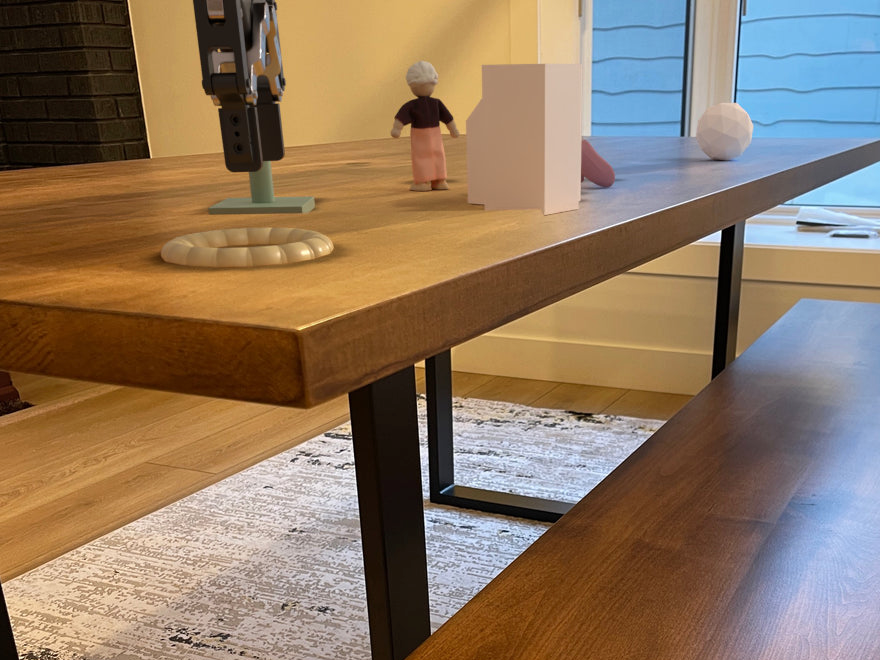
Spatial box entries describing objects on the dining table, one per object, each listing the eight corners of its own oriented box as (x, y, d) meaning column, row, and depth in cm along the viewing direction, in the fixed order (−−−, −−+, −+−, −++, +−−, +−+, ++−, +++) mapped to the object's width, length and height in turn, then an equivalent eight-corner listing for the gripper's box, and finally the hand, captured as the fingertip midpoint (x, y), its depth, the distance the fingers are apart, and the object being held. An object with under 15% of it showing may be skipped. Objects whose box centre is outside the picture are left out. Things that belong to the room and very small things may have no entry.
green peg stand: (209, 219, 86) (191, 80, 82) (229, 208, 93) (213, 80, 89) (303, 218, 86) (290, 79, 82) (315, 207, 94) (304, 79, 89)
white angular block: (544, 215, 87) (545, 63, 82) (445, 206, 93) (440, 65, 88) (609, 203, 94) (613, 64, 90) (514, 196, 101) (513, 65, 96)
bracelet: (143, 282, 59) (138, 252, 59) (187, 254, 69) (183, 227, 68) (322, 279, 60) (320, 248, 59) (341, 251, 69) (339, 224, 69)
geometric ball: (733, 181, 141) (755, 134, 135) (681, 159, 142) (700, 112, 135) (746, 150, 145) (768, 103, 139) (696, 128, 146) (715, 81, 139)
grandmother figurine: (444, 185, 111) (439, 61, 106) (465, 188, 109) (461, 60, 104) (386, 190, 107) (378, 61, 102) (407, 193, 104) (400, 60, 99)
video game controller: (543, 195, 115) (519, 138, 111) (574, 175, 116) (551, 118, 112) (588, 204, 107) (563, 143, 103) (621, 182, 108) (598, 120, 104)
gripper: (189, -100, 66) (223, 159, 72) (123, -143, 53) (172, 177, 59) (303, -102, 66) (327, 156, 73) (265, -146, 53) (299, 174, 60)
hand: (257, 166), depth 66 cm, fingers open, 8 cm apart
